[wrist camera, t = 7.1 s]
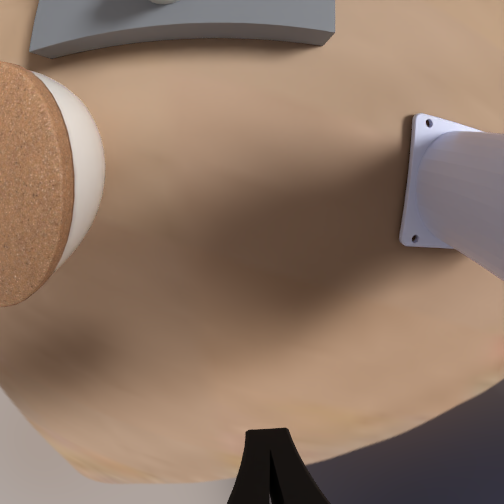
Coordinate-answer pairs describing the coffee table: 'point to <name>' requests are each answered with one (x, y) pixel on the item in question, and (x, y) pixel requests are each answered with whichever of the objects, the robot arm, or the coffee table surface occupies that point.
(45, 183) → the lidded jar
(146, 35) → the mount plate
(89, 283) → the coffee table surface
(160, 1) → the potentiometer
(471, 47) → the coffee table surface
